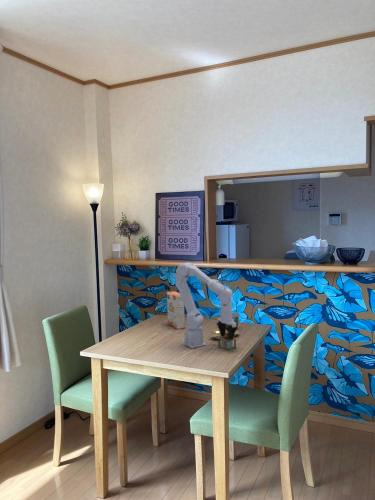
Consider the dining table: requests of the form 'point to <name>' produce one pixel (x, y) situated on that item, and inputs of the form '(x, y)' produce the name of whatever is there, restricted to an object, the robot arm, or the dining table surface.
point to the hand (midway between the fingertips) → (227, 337)
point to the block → (228, 343)
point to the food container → (235, 317)
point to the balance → (217, 331)
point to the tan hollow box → (225, 339)
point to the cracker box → (175, 310)
